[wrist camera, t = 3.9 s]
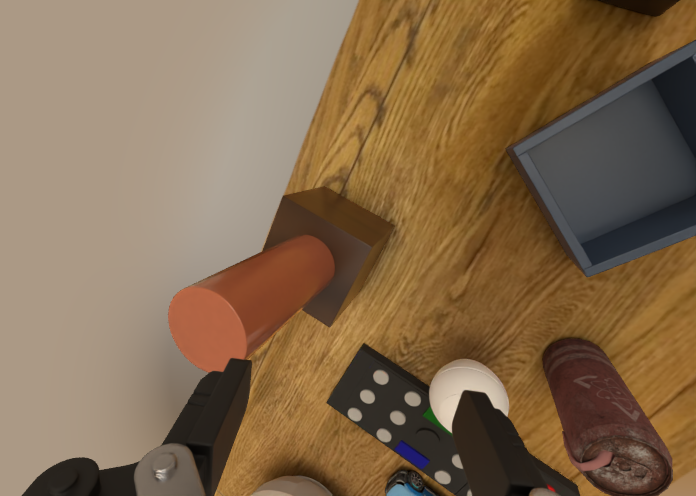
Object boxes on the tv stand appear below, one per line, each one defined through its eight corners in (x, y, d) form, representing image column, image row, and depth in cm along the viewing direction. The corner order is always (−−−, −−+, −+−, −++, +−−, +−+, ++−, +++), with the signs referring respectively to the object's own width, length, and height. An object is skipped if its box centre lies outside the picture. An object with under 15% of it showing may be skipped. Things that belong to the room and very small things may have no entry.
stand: (324, 186, 41) (282, 195, 32) (395, 225, 40) (372, 247, 31) (296, 252, 45) (252, 277, 36) (359, 291, 43) (329, 327, 34)
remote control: (518, 530, 45) (520, 546, 43) (330, 395, 50) (324, 405, 48) (576, 485, 40) (581, 501, 38) (363, 343, 45) (359, 350, 44)
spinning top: (501, 332, 39) (513, 402, 28) (503, 390, 40) (515, 477, 29) (433, 329, 41) (420, 392, 30) (438, 383, 43) (426, 461, 32)
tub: (505, 148, 34) (512, 148, 28) (651, 62, 28) (700, 37, 22) (566, 255, 34) (587, 277, 28) (721, 190, 29) (787, 200, 23)
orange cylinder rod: (270, 251, 34) (152, 309, 22) (313, 223, 32) (208, 270, 19) (301, 301, 35) (202, 386, 22) (346, 276, 32) (264, 357, 20)
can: (530, 344, 38) (558, 441, 25) (594, 329, 35) (661, 428, 23) (551, 390, 38) (589, 507, 26) (615, 378, 36) (693, 503, 23)
